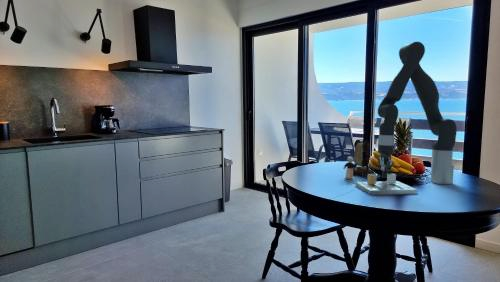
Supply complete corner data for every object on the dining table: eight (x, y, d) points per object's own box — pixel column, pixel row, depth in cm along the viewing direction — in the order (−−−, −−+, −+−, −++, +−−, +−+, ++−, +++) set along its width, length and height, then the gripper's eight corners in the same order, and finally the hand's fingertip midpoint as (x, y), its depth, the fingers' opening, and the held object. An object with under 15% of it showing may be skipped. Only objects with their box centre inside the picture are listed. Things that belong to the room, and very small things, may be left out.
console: (397, 184, 168) (397, 180, 168) (416, 193, 151) (417, 189, 151) (355, 185, 166) (355, 181, 166) (370, 194, 149) (370, 190, 149)
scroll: (342, 172, 199) (343, 139, 197) (361, 170, 205) (362, 138, 203) (360, 177, 185) (361, 142, 183) (380, 175, 192) (381, 140, 189)
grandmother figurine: (341, 179, 181) (342, 156, 180) (343, 177, 185) (344, 155, 183) (356, 180, 178) (357, 157, 176) (357, 179, 181) (358, 156, 180)
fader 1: (373, 182, 163) (373, 173, 163) (375, 184, 160) (376, 174, 160) (367, 182, 163) (367, 173, 162) (369, 184, 160) (370, 174, 159)
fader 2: (392, 182, 164) (392, 173, 163) (395, 183, 161) (396, 174, 160) (386, 182, 164) (387, 173, 163) (389, 183, 161) (390, 174, 160)
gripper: (400, 145, 160) (398, 180, 162) (386, 142, 174) (385, 175, 175) (385, 145, 160) (383, 180, 162) (373, 142, 173) (371, 175, 175)
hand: (384, 177), depth 169 cm, fingers closed
